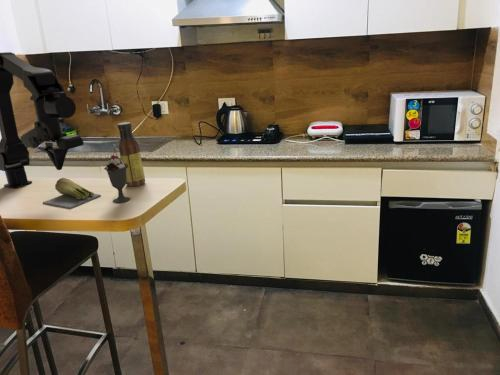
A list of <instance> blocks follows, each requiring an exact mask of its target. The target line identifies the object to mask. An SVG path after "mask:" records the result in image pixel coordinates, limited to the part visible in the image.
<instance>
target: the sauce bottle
mask: <svg viewBox="0 0 500 375" xmlns="http://www.w3.org/2000/svg"><path fill="white" fill-rule="evenodd" d="M132 127H133V126H132V123H131V122H129V121H125V122H119V123H117V129H118V132H119V137H120V140H119V142H118V152H119V159H120V160H121V161H123V163H126V164H128V168H127V169H126V186H127V187H139V186H142V185H144V184H145V183H146V178H145V171H144V167H143V160H142V156H141V152H140V151H141V150H140V147H139V143H138V142H137V141H136V139H135V137H134V134H133V131H132Z"/></svg>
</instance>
